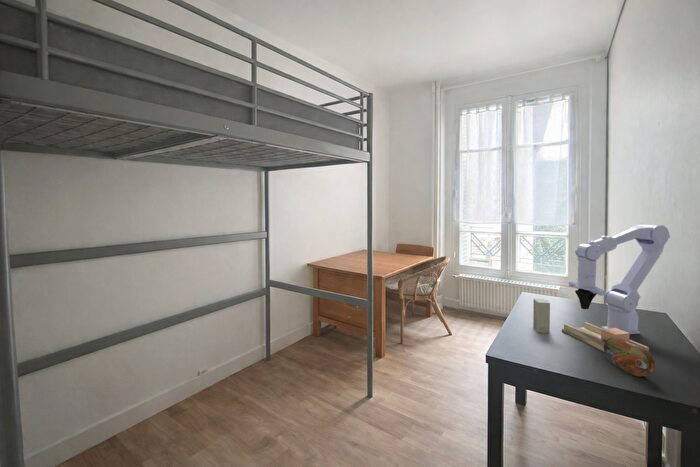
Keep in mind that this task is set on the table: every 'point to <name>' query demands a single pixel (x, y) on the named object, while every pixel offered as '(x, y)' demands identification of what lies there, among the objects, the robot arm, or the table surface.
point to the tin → (629, 357)
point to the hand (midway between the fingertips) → (584, 308)
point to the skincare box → (541, 315)
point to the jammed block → (614, 334)
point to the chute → (591, 335)
